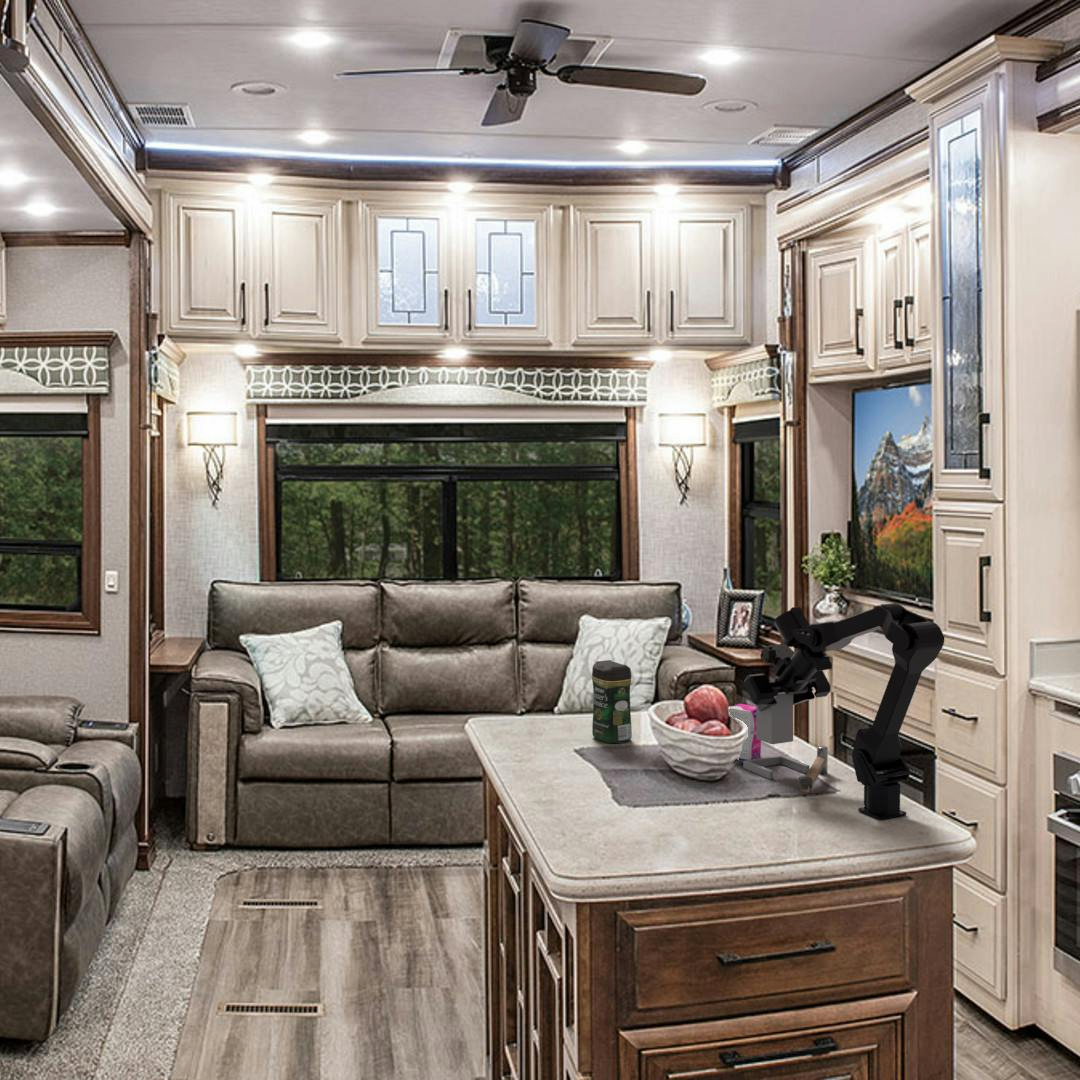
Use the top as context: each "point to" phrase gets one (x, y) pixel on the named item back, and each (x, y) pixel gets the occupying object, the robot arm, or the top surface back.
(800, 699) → the robot arm
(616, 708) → the coffee jar
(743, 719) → the supplement box
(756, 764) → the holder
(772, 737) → the plug block
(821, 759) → the bar
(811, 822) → the top surface
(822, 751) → the hinge post
